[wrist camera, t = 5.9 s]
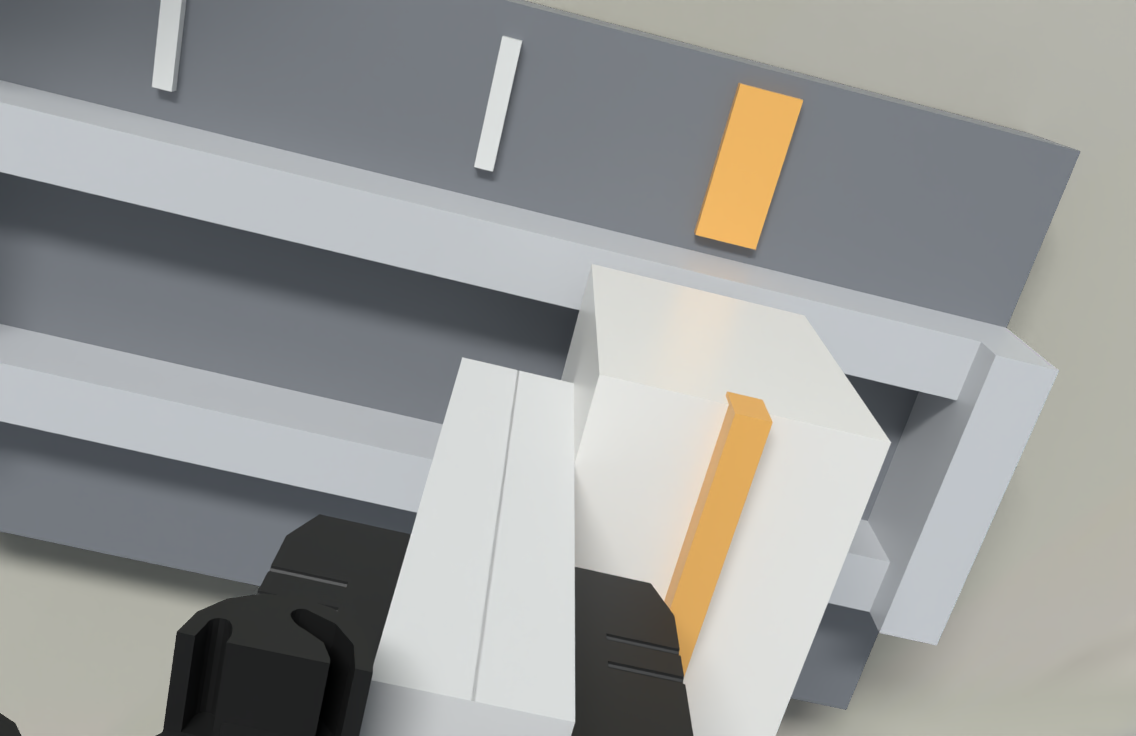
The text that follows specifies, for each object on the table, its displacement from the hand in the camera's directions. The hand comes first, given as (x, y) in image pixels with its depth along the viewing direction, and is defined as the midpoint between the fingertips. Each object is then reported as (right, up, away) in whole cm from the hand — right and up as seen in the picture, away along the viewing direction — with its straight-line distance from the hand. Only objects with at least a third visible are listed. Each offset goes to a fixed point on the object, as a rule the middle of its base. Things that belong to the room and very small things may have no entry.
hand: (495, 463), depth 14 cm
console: (-1, +2, +6) cm, 6 cm away
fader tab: (+2, +1, +4) cm, 4 cm away
